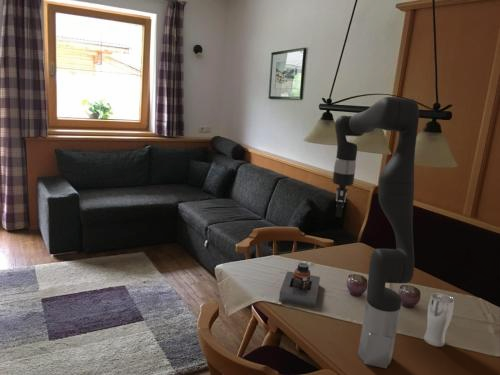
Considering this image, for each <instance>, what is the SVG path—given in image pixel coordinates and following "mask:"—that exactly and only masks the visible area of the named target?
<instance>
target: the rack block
mask: <svg viewBox="0 0 500 375" xmlns="http://www.w3.org/2000/svg"><path fill="white" fill-rule="evenodd" d="M294 272H295V271H293V272H292V271H289V270H287V271H286V273H285V277H284V279H283V282H282V285H281V287H280V289H279V295H278V296H279V297H278V301H279V302H284V303H287V304H295V305H300V306H305V307H311V308H316V305H317V301H318V295H319V294H318V293H319V286H320V279H321V277H320V276H316V275H311V274H310V281H309V290H304V289H299V288H293V280H294Z"/></svg>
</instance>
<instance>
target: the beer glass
mask: <svg viewBox="0 0 500 375" xmlns="http://www.w3.org/2000/svg"><path fill="white" fill-rule="evenodd" d="M454 306H455V300H454V298H453V297H451V296H450V295H448V294H446V293H441V292H433V293H431V294H430V300H429V302H428V306H427V316H426V318H427V319H426V320H427V327H426V330H425V333H424V336H423V340H424V341H425V342H426V343H427V344H429V345H431V346H433V347H437V348H438V347H440V348H441V347H443V346H445V343H446V332H447V330H448V327H449V325H450V323H451V320H452V319H453V318H452V317H453V314H454V308H455V307H454Z"/></svg>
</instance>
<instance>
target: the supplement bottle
mask: <svg viewBox="0 0 500 375" xmlns="http://www.w3.org/2000/svg"><path fill="white" fill-rule="evenodd" d="M309 268H310V267H309V264H308V263H305V262H298V263H297V268H295V269H294V271H293V272H294V280H293V286H292V287H293V288H299V289H304V290H310V289H309V281H310V275H311V270H309Z"/></svg>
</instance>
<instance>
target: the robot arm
mask: <svg viewBox="0 0 500 375" xmlns="http://www.w3.org/2000/svg"><path fill="white" fill-rule="evenodd" d="M419 118H420V108H419V104H418V102H417V101H416V100H415V99H412V98H406V97H396V96H395V97H394V96H387V97H383V98H380V99H379V100H378V101H376V102H375V103H374V104H372V105H371V106H370V107H369V108H367V109H366V110H363V111H361V112H358V113H355V114H353V115H339V116H338V117H337V119H336V120H335V122H334V128H335V134H336V143H337V145H336V146H337V148H336V157H335V162H334V167H333V174H332V175H333V176H332V183H333V184H335V185H338V187H336V190H335V194H336V196H335V201H336V204H335V206H336V210H335V217H337V218H342V217H343V216H342V215H343V209H344V206H345V203H346V200H347V199H346V198H347V195H348V188H346V187H347V186H348V187H351V186H353V185H354V182H355V175H356V168H357V167H356V166H357V165H356V163H357V156H358V155H357V154H358V145H357V143H354V142H351V141H348V140H347V137H362V136H363V135H365V134H367V133H371V132H372V131H374V130H375V129H380V130H384V131H387V132H388V131H390V132H398V141H397V146H396V149H395V151H394V153H393V155H392V156H391V158H390V159H389V161H388V162H387V163H386V165H385V166H384V168H383V169H382V171H381V172H380V176H379V177H378V203H379V206H380V208H381V210H382V211H383V213H384V215H385V217H386V218H387V220H388V221H389V223H390V225H391V227H392V229H393V232H394V237H395V248H375V249H374V250H373V251H372V253H371V256H370V259H369V267H368V277H367V285H366V286H367V287H366V288H367V290H366V291H367V292H366V293H367V294H366V302H365V308H364V314H363V320H362V326H361V332H360V333H361V334H360V339H359V345H358V352H357V353H358V356H359V359H361V360H362V361H363V364H364V365H368V366H371V367H378V368H382V369H387V368H388V366H389V365H390V364H391V363H392V358H393V353H394V346H395V340H396V335H397V331H398V330H397V329H398V325H399V324H398V323H399V318H400V312H401V306H402V297H401V295H400V294H399V293H398V292H397V291H395V290H393V289H391V288H389V287H387V286H386V284H409V283H410V282H411V281H412V280H413V277H414V274H415V250H414V248H415V247H414V232H413V229H414V227H413V222H414V221H413V220H414V219H413V217H414V199H415V198H414V195H415V159H416V158H415V156H416V145H417V137H418V129H419V120H420V119H419Z"/></svg>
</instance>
